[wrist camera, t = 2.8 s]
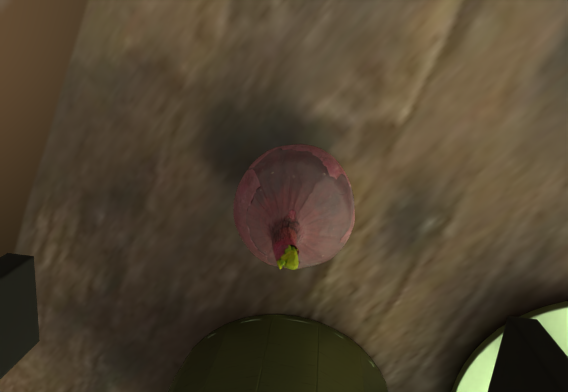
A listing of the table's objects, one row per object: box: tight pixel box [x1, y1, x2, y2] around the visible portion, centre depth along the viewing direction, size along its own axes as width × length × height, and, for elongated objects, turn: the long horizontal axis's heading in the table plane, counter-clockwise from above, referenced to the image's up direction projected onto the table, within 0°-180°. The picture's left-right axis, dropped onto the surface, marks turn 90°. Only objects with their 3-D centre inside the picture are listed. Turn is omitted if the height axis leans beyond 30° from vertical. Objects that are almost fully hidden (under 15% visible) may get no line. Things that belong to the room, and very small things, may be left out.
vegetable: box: [234, 144, 355, 270], centre depth 22 cm, size 6×6×10 cm
